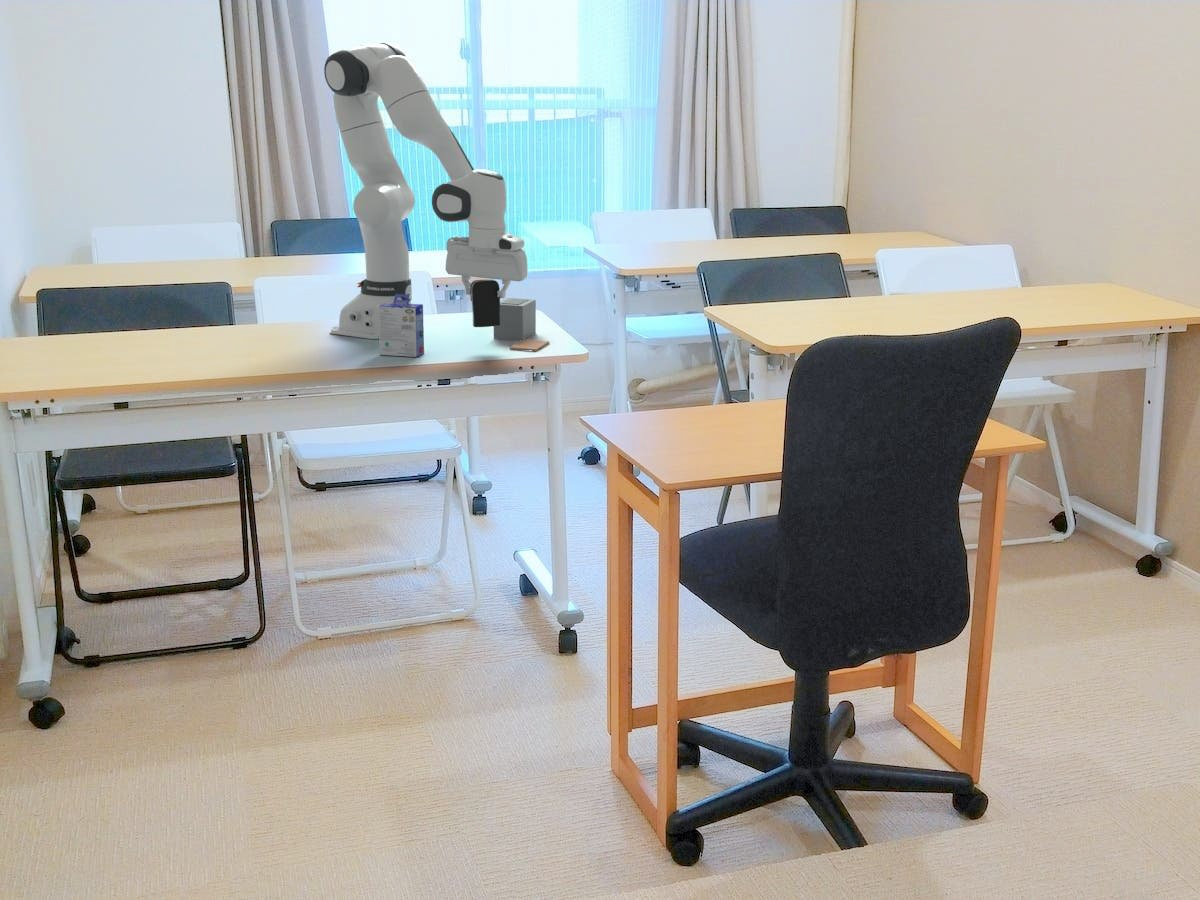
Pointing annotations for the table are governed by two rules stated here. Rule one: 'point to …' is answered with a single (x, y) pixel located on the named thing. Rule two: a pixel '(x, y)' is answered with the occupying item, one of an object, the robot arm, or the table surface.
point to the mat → (529, 345)
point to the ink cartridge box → (401, 328)
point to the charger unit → (516, 319)
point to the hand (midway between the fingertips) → (485, 296)
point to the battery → (485, 303)
